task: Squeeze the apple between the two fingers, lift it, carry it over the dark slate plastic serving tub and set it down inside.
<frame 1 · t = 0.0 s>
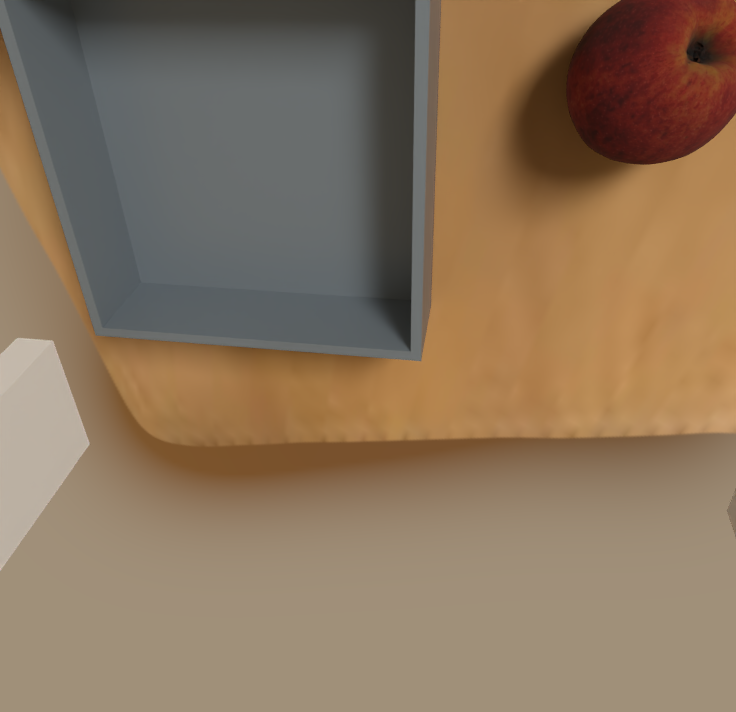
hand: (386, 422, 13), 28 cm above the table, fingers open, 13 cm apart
tub: (262, 146, 40), on the table
apple: (642, 57, 34), on the table
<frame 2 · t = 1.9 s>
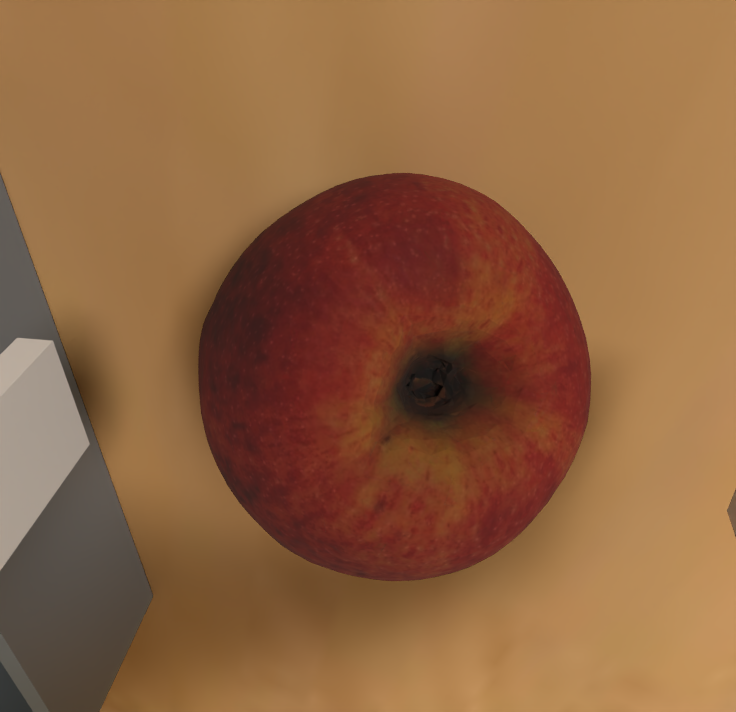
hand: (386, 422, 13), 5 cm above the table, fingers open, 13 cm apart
apple: (412, 275, 17), on the table
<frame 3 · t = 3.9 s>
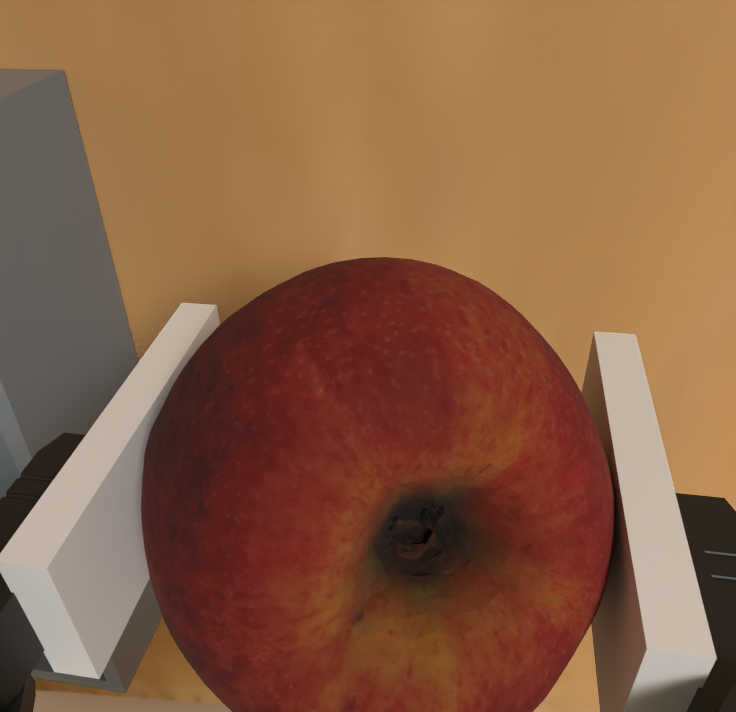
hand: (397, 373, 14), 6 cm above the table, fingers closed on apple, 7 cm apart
apple: (404, 352, 15), point 6 cm above the table, touching gripper
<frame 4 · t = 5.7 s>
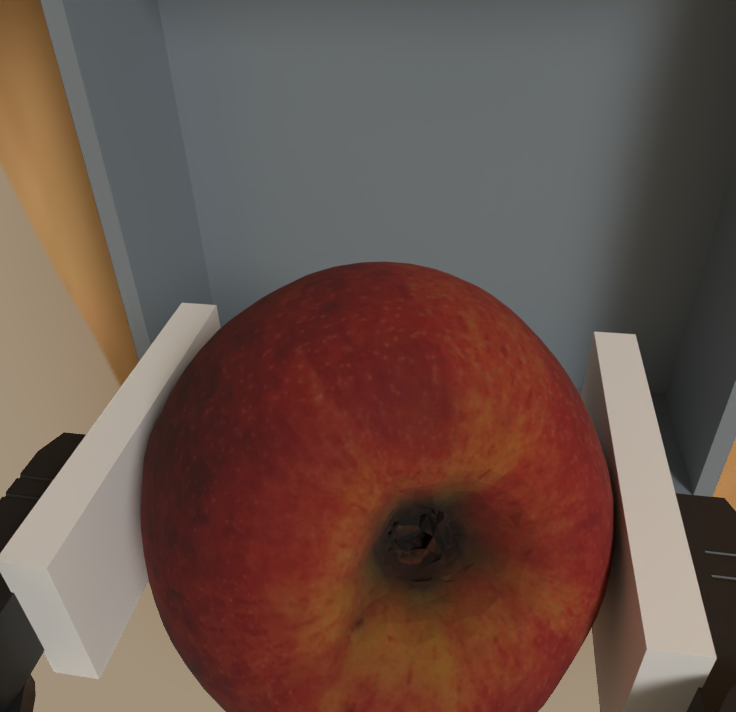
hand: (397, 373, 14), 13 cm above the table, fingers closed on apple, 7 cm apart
tub: (443, 155, 24), on the table
apple: (404, 355, 15), point 12 cm above the table, touching gripper
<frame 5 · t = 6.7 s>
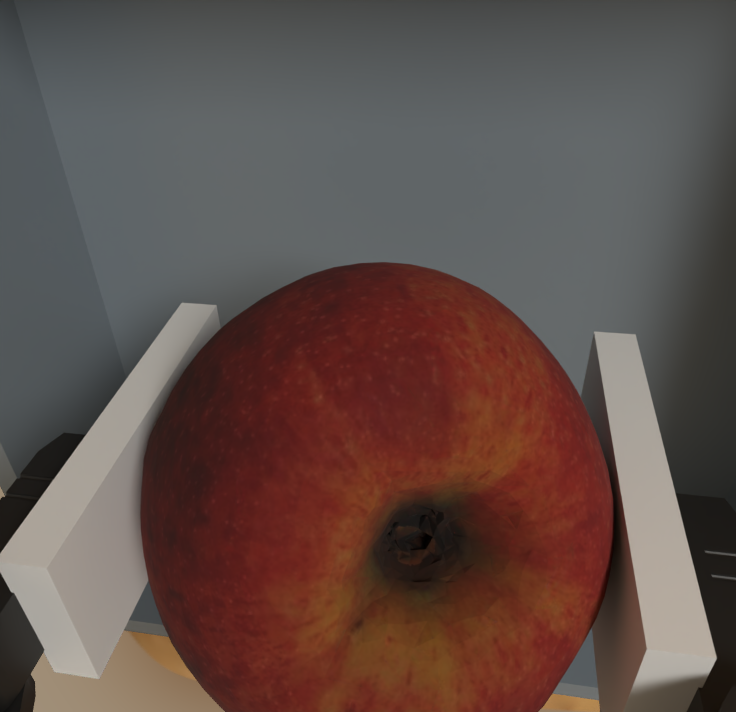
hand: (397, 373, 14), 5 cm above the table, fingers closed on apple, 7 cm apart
tub: (423, 252, 18), on the table
apple: (404, 356, 15), point 5 cm above the table, touching gripper
when the fingers open (3 cm above the table, at t = 7.5 s): apple drops 2 cm, resting on tub.
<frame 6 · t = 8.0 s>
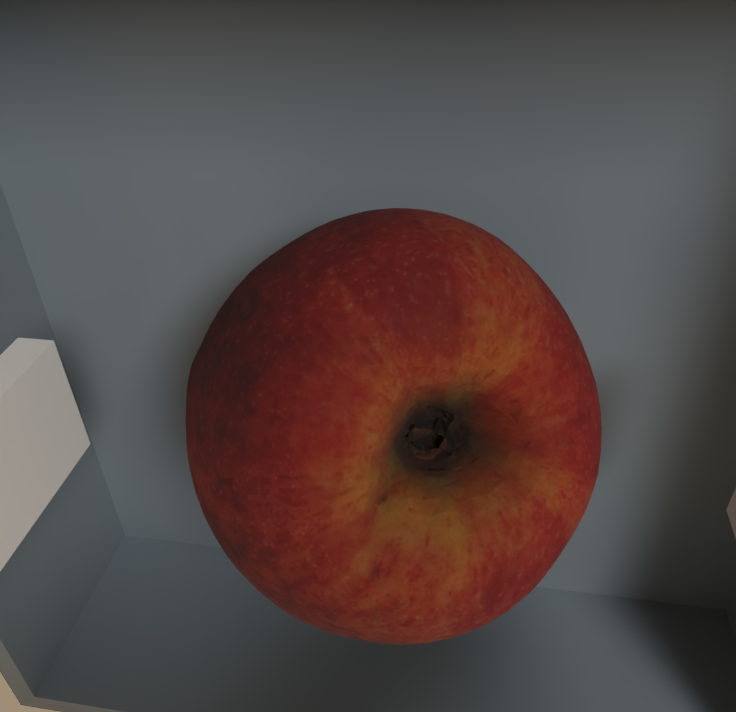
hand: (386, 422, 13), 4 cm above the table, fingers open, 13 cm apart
tub: (411, 305, 16), on the table
apple: (412, 307, 16), resting on tub
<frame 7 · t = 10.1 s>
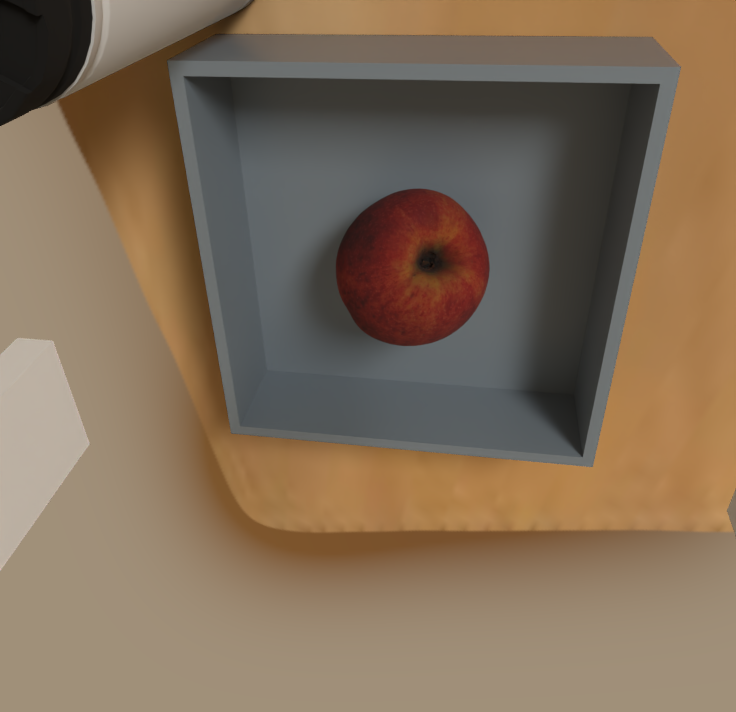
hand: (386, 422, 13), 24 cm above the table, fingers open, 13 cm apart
tub: (419, 236, 37), on the table
apple: (420, 236, 37), resting on tub
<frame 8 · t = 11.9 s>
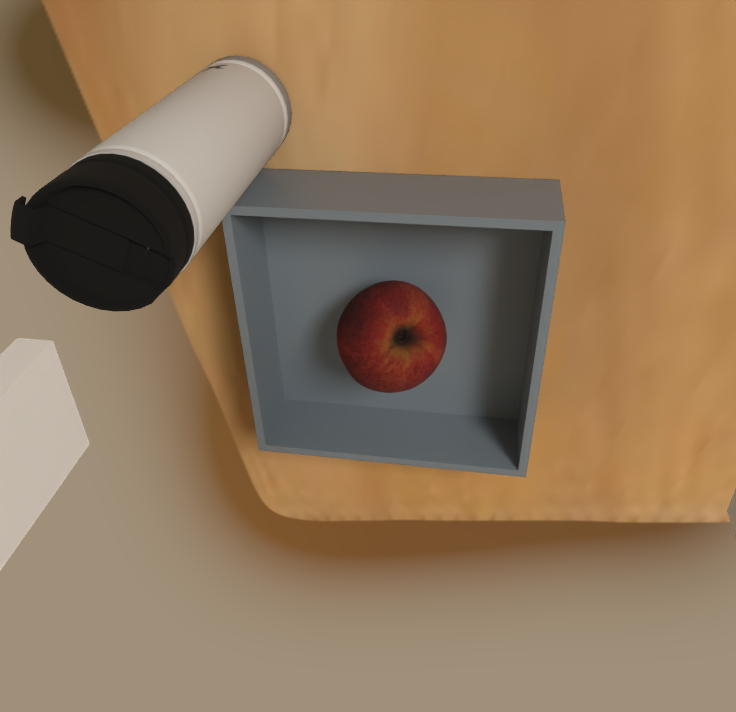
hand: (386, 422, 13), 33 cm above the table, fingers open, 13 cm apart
travel mug: (242, 105, 44), on the table
tub: (399, 306, 50), on the table
apple: (399, 306, 50), resting on tub
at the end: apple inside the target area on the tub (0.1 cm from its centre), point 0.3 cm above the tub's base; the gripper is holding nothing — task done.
